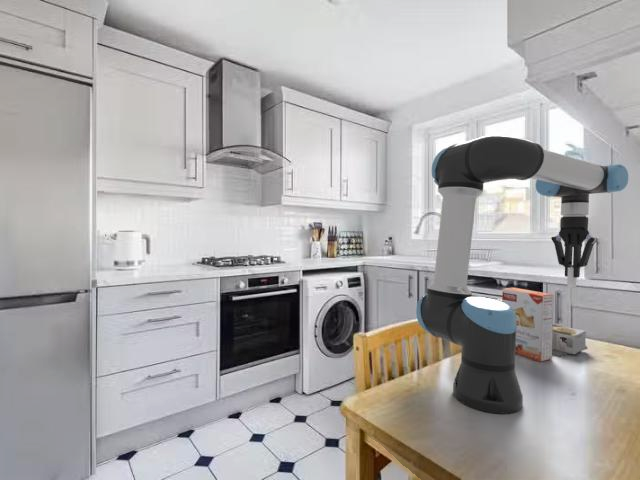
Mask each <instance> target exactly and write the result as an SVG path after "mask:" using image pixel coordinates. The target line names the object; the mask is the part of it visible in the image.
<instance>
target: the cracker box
mask: <svg viewBox="0 0 640 480" xmlns="http://www.w3.org/2000/svg"><path fill="white" fill-rule="evenodd" d="M501 294H502V301H501V302H503V303H505V304H507V305H509V306H510V307H512V309H513V310H514V312H515V317H516V325H517V329H516V343H515V354H517V355H519V356H523V357H526V358H528V359H531V360H535V361H537V362H539V363H541V362H545V361H546V362H547V361H549V360H553V355H552V337H553V325H554V294H553V293H552V294H551V293H545V292H541V291H535V290H529V289H525V288H518V287H504V288H502V293H501Z"/></svg>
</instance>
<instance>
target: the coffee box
mask: <svg viewBox="0 0 640 480" xmlns="http://www.w3.org/2000/svg"><path fill="white" fill-rule="evenodd" d="M586 332H587V331H586V330H582V329H578V328H573V327H567V326H562V325H558V324H553V337H552V349H555V350H559V351H563V352H566V353H570V354H569V355H576V354H578V353H581V351H584V350H585V349H587V348H586V346H587V345H586V336H587V334H586Z"/></svg>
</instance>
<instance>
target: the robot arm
mask: <svg viewBox="0 0 640 480" xmlns="http://www.w3.org/2000/svg"><path fill="white" fill-rule="evenodd" d="M431 176H432V179H434V180H433V181H434V183H435V184H436V185H437V192H438V193H439V194H440V195H441V197H442V202H441V210H440V211H441V212H440V221H439V230H438V239H437V249H436V256H435V257H436V258H435V266H434V277H433V281H432V282H431V283H430V284H429V285H428V286H427V287H426V293H424V294H423V295H422V296H421V298H420V299H419V300H418V302H417V304H416V309H415V312H416V319H417V322H418V323H419V326H420V327H421V328H422V330H424V331H425V332H426V333H427V334H430V335H432V336H433V337H436V338H438V339H439V338H440V339H442V340H445V341H447V342H450V343H451V344H452V343H453V344H454V345H458V346H459V347H461V351H460V352H461V360H460V365H459V367H458V370H457V373H456V375H455V377H454V379H453V384H452V385H453V386H452V387H453V388H452V393H453V396H454V397H455V399H456V400H458V401H459V402H460V403H462V404H463V405H466V406H467V407H470V408H473V409H475V410H478V411H482V412H487V413H492V414H502V415H503V414H513V413H516V412H519V411H521V409H522V408H523V405H524V404H523V401H524V399H523V398H524V397H523V393H522V391H521V386H520V384H519V383H520V382H519V379H518V377H517V374H516V369H515V367H516V366H515V365H516V353H515V343H516V329H517V325H516V317H515V312H514V310H513V309H512V307H510V306H509V305H507V304H505V303H503V302H502V301H500V300H497V299H494V298H486V297H483V296H472V295H473V293H472V291H471V290H470V288H469V287H468V275H469V266H470V256H471V248H472V240H473V239H472V237H473V228H474V221H475V220H474V218H475V210H476V201H477V199H478V197H480V196H481V195H483V192H484V184H485V183H486V184H487V183H490V182H496V181H502V180H503V181H505V180H519V181H526V180H527V181H528V180H530V179H532V180H535V191H536V192H537V194H539V195H541V196H544V197H547V198H551V197H553V198H561V201H560V203H561V204H560V216H561V217H560V220H559V221H560V223H559V227H560V230H559V232H558V234H556V235H555V236H551V237H550V238H551V240H552V242H553V244H554V248H555V253H556V257H557V262H558V264H559V265H561V266H564V277H566V279H567V280H566V281H567V282H566V283H567V284H566V287H567V288H571V289H573V288H577V279H579V278H580V275H581V273H580V271H581V268H582V267H583V268H584V267H587V266H588V263H589V261H590V257H591V254H592V251H593V247H594V245H595V244H596V242H597V241H598V237H594V236H592V235H591V234H590V231H589V230H588V229H589V217H588V215H589V212H590V211H589V209H590V208H589V207H590V205H589V204H590V194H591V195H592V194H605V193H606V194H607V193H608V194H611V193H615V192H622V191H623V190H625V188H626V187H627V186H628V182H629V171H628V169H627V168H626V166H624V165H622V164H609V165H601V164H600V165H599V164H596V163H592V162H589V161H586V160H582V159H578V158H575V157H571V156H568V155H564V154H561V153H557V152H553V151H550V150H547V149H544V148H543V146H542V145H541V144H540V143H538V142H536V141H531V140H528V139H525V138H520V137H515V136H508V135H501V134H491V135H484V136H481V137H477V138H475V139H471V140H468V141H464V142H461V143H455V144H454V143H453V144H451V145H449V146H448V147H445V148H443V149H441V150H440V151H439V152H438V153H437V154H436V155H435V157H434V158H433V162H432V163H431ZM585 240H586V243H585V245H584V248H583V251H582V247H583V243H584V242H585ZM562 241H563V243H562ZM563 244H564V247H563Z"/></svg>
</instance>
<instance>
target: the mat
mask: <svg viewBox="0 0 640 480" xmlns="http://www.w3.org/2000/svg"><path fill="white" fill-rule="evenodd" d="M587 348H588V346H587V345H586V348H585V349H587ZM566 355H571V354H570V353H566V352H563V351H559V350H555V349H552V356H555V357H558V358H561V357H564V356H566Z"/></svg>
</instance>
